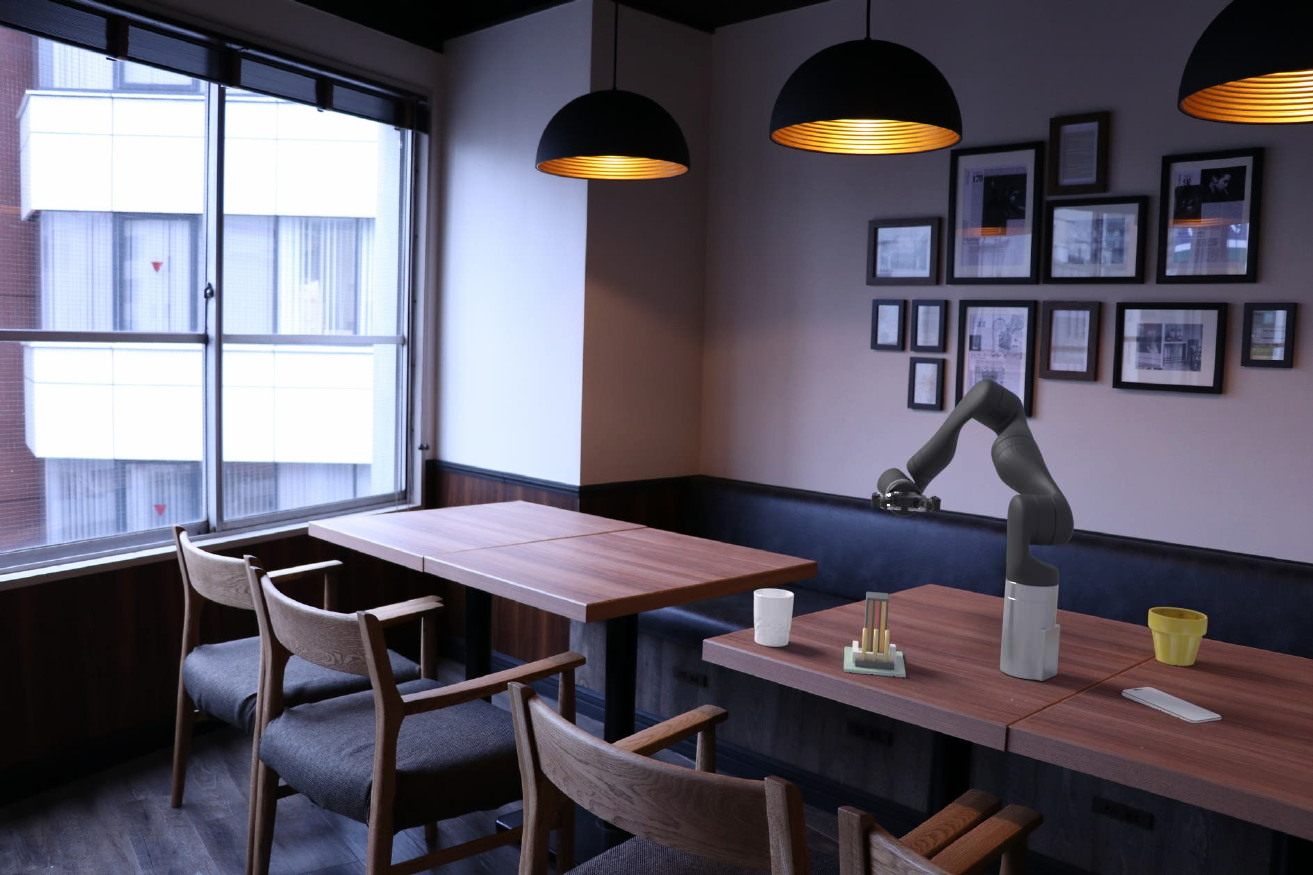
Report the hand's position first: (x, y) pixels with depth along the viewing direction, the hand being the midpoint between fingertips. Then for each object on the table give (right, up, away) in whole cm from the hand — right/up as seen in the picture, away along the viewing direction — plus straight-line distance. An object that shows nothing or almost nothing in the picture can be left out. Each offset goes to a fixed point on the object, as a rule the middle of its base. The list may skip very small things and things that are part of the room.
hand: (907, 505), depth 213 cm
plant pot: (+50, -30, -9) cm, 60 cm away
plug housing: (-10, -28, -17) cm, 34 cm away
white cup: (-29, -27, -6) cm, 40 cm away
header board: (-11, -28, -18) cm, 35 cm away
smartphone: (+36, -32, -36) cm, 61 cm away
